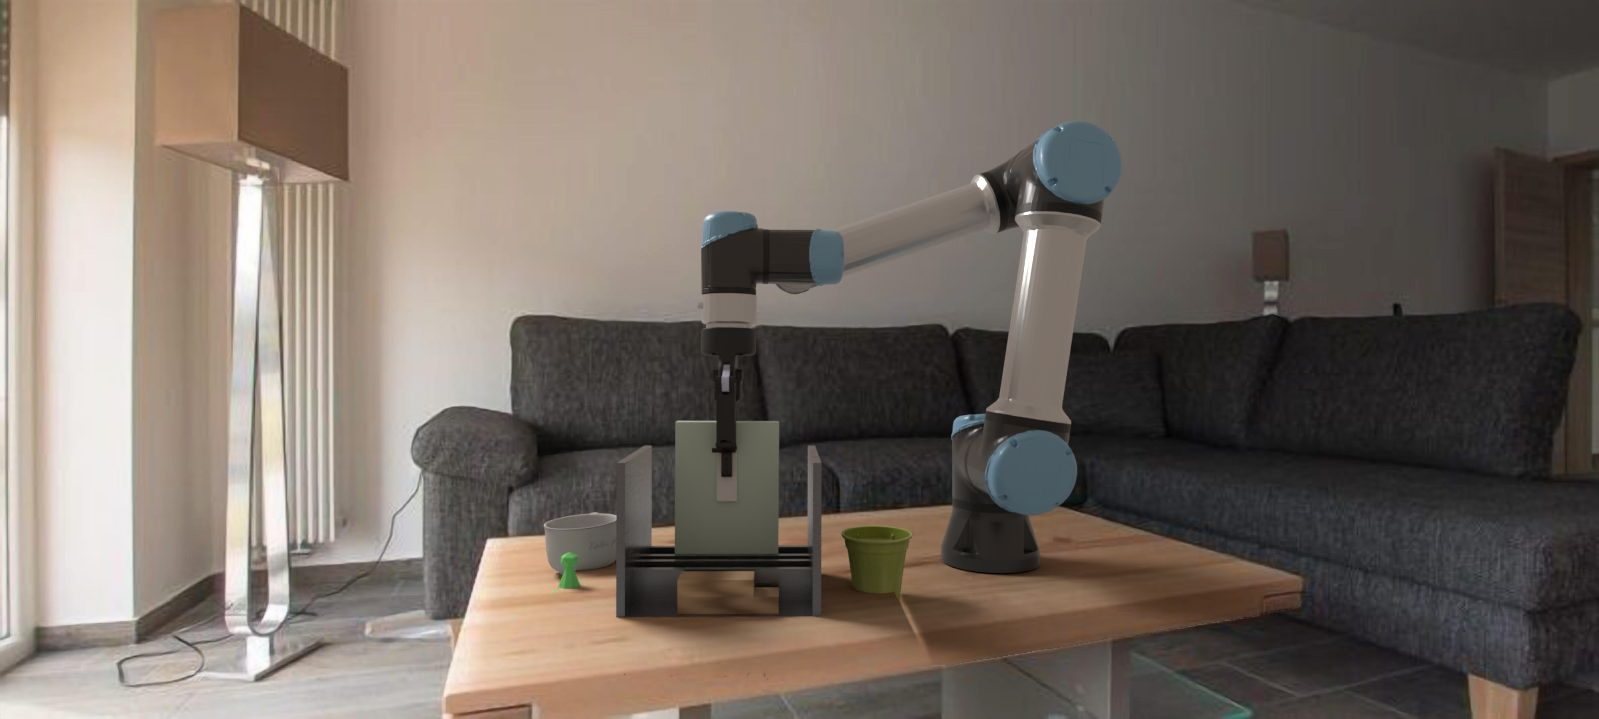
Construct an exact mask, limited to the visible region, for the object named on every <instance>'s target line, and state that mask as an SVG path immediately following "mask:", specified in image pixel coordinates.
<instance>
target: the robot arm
mask: <svg viewBox="0 0 1599 719" xmlns="http://www.w3.org/2000/svg"><path fill="white" fill-rule="evenodd" d="M1122 173H1123V158H1122V154H1121V150H1120V149H1119V146H1118V143H1116V141H1115V140H1114V139H1113V138H1112V137H1111V135H1110V134H1109V132H1107V130H1105V129H1103V128H1102V127H1101V126H1098V125H1097V124H1095V123H1092V122H1089V121H1085V120H1069V121H1067V122H1062V123H1060V124H1058V125H1056V126H1052V127H1050V128H1049V129H1047V130H1045V131H1044V132H1043V133H1042V134H1041V135H1040V136H1039V137H1038V138H1037V139H1036V140H1035V141H1033V142H1032V143H1030V144H1029V145H1027V146H1026V147H1025V148H1023V149H1022V150H1020V151H1019V152H1017V153H1016V154H1015V155H1014V156H1012V157H1011V158H1009V159H1008V160H1006V161H1005V162H1003V163H1001V164H999V165H997V166H996V167H993V168H992V169H989V170H987V171H984V172H981V173H979V174H975V175H974V176H973V178H972V179H971V181H970V183H969V184H966V185H963V186H960V187H957V188H954V189H951V190H948V191H945V192H941V193H938V194H936V195H933V196H930V197H926V198H924V199H921V200H918V201H914V202H912V203H909V204H906V205H902V206H900V207H896V208H894V209H891V210H887V211H883V212H881V213H878V214H876V215H873V216H869V217H867V218H864V219H860V220H857V221H854V222H851V223H848V224H845V225H842V226H839V227H835V228H834V229H829V230H824V229H820V228H815V229H767V228H766V229H765V228H762V227H759V225H758V222H757V217H756V216H755V215H754V214H752V213H749V212H745V211H741V212H740V211H737V210H736V211H735V210H731V211H729V210H728V211H727V210H726V211H724V210H723V211H722V210H721V211H715V212H711V213H709V214H707V215H706V216H705V217H704V219H703V222H702V230H701V233H702V234H701V245H700V247H701V248H700V256H701V257H700V264H701V265H700V269H701V271H700V273H701V274H700V275H701V278H700V279H701V281H700V282H701V283H700V284H701V300H702V301H699V302H697V304H696V309H698V310H701V323H702V324H703V325H705V327H704V328H702V330H700V352H701V354H702V355H704V356H718V365H717V366H718V367H717V368H718V369H717V368H714V369H713V371H712V379H713V380H712V381H713V383H714V400H715V402H716V403H715V404H716V406H715V407H716V409H715V411H716V413H715V414H716V418H715V419H716V420H715V421H716V440H717V442H716V448H712V453H717V501H737V452H736V450H737V446H736V421H740V401H741V400H742V389H743V388H742V383H743V381H744V369H742V368H741V369H740V368H739V367H738V366H739V358H738V357H739V356H740V357H741V356H744V357H745V356H747V357H750V356H751V357H752V356H754V355H756V353H757V331H756V330H755V328H753V325H756V323H757V320H758V319H757V318H758V317H757V312H758V311H757V306H758V305H757V301H758V300H757V299H758V298H757V297H758V296H757V284H763V285H768V284H769V285H776V287H777V288H779V289H780V290H781V291H783V292H785V293H787V294H791V295H799V294H802V293H807V291H810V289H812V288H815V287H819V286H820V287H823V286H828V285H838V284H840V282H841V281H842V279H843V278H844V277H848V276H851V275H854V274H857V273H860V272H863V271H866V270H869V269H872V268H875V267H878V266H881V265H884V264H887V263H890V262H893V261H896V260H899V259H901V258H904V257H908V256H911V255H914V254H916V253H920V252H923V251H927V250H929V249H932V248H934V247H935V248H936V247H939V246H941V245H944V244H947V243H950V242H953V241H955V240H959V239H962V238H965V237H968V236H971V235H975V234H978V233H980V232H985V233H988V234H990V235H994V234H995V235H996V234H999V233H1002V232H1005V231H1007V230H1011V229H1015V228H1016V229H1017V228H1020V229H1021V230H1022V232H1023V237H1022V242H1021V249H1020V255H1019V256H1020V257H1019V262H1018V269H1017V276H1016V281H1015V282H1016V283H1015V289H1014V297H1013V302H1012V310H1011V316H1010V323H1009V329H1008V336H1007V343H1006V349H1005V356H1004V364H1003V370H1002V377H1001V384H1000V391H999V396H998V398H997V400H996V401H994V402H993V403H992V404H991V405H989V406H987V407H986V410H985V413H978V414H965V415H959V416H957V417H956V418H955V419H954V420H953V424H952V433H951V437H950V439H951V442H952V444H951V446H952V448H951V450H952V452H951V455H952V456H951V457H952V458H951V459H952V461H951V462H952V463H951V464H952V466H951V467H952V470H951V472H952V473H951V474H952V476H951V477H952V487H951V488H952V489H951V491H952V492H951V493H952V498H951V500H952V508H951V510H952V511H951V514H950V517H949V520H948V523H947V526H946V528H945V532H944V535H943V538H942V541H941V545H940V560H941V562H943V563H944V564H946V565H947V566H950V567H953V568H956V569H960V570H963V571H964V570H965V571H969V572H971V571H972V572H978V573H986V574H987V573H989V574H1015V573H1023V572H1029V571H1033V570H1036V569H1037V568H1039V567H1040V565H1041V550H1040V546H1039V543H1038V541H1037V540H1038V539H1037V538H1036V534H1035V532H1034V528H1033V525H1032V522H1031V519H1030V516H1037V515H1043V514H1046V513H1048V512H1051V511H1053V510H1054V509H1056V508H1058V507H1059V506H1060V505H1062V504H1063V503H1064V502H1065V501H1066V500H1067V499H1068V497H1069V496H1070V495H1071V493H1072V491H1073V490H1074V488H1075V485H1076V481H1077V476H1078V466H1077V461H1076V458H1075V454H1074V452H1073V450H1072V449H1071V447H1070V446H1069V440H1070V434H1071V427H1072V426H1071V425H1072V420H1071V419H1070V418H1069V416H1068V415H1067V414H1066V413H1065V411H1064V410H1063V401H1064V395H1065V394H1064V393H1065V387H1066V381H1067V373H1068V369H1069V368H1068V367H1069V363H1070V362H1069V361H1070V355H1071V349H1072V348H1071V346H1072V341H1073V334H1074V326H1075V320H1076V314H1077V307H1078V300H1079V294H1080V287H1081V281H1082V280H1081V279H1082V274H1083V266H1084V259H1085V255H1086V246H1087V240H1088V238H1090V237H1091V236H1092V235H1093V234H1094V233H1096V232H1097V231H1098V230H1099V229H1100V228H1101V223H1102V219H1103V218H1102V216H1103V213H1104V212H1103V211H1104V207H1105V206H1104V204H1105V199H1106V198H1107V197H1109V196H1110V195H1111V194H1112V193H1113V191H1115V189H1116V187H1117V186H1118V184H1119V182H1120V179H1121V177H1122ZM1100 230H1101V229H1100Z"/></svg>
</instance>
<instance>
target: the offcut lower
mask: <svg viewBox="0 0 1599 719" xmlns="http://www.w3.org/2000/svg"><path fill="white" fill-rule="evenodd" d="M677 614H779V587H755V588H754V596H753V597H677Z"/></svg>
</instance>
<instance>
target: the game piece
mask: <svg viewBox="0 0 1599 719" xmlns="http://www.w3.org/2000/svg"><path fill="white" fill-rule="evenodd" d="M577 561H578V555H576V554H573V553H571V552H568V553H566V554H564V555H563V556H561V565H563V566H565V567H566V568H565V570H564V573H563V575H561V578H560V582H559V584H558V587H557V589H554V590H553V592H552V595H554V594H555V593H556V592H557V591H558V589H563V590H565V589H575V588H578V587H580V585H581V583H580V581H579V578H578V576H577V573H576V571H574V568H573V566H575V565H577Z"/></svg>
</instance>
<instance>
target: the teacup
mask: <svg viewBox="0 0 1599 719" xmlns="http://www.w3.org/2000/svg"><path fill="white" fill-rule="evenodd" d="M543 528H544V539H545V550H546V552H545V553H546V557H547V558H546V559H547V562H548V564H549V566H550V567H551V568H552V569H553V570H555V571H556V572H558V573H559V574H560V575H561V576H563V573H564V570H565V568H566V567H565V566H563V565H561V556H563V555H564V554H566V553H568V552H571V553H573V554H576V555H578V561H577V565H575V566H573V568H574V571H575V572H577V571H588V570H596V569H597V570H598V569H602V568H606V567H608V566H610V565H613V563H614V562H615V561H616V514H611V513H600V512H597V511H595V512H590V513H582V514H574V515H573V514H572V515H567V516H563V517H558V518H554V519H551V520H547V521H546V522H545V523H544V524H543Z"/></svg>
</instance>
